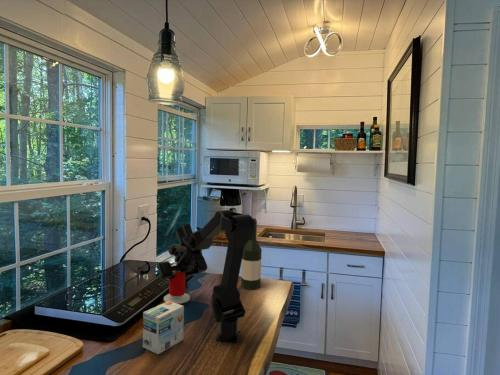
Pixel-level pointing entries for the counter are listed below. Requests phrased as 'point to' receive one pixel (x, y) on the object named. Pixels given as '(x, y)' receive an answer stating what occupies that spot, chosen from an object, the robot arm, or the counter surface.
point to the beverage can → (177, 284)
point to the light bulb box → (163, 326)
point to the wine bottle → (251, 263)
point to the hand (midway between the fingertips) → (175, 277)
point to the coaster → (177, 298)
